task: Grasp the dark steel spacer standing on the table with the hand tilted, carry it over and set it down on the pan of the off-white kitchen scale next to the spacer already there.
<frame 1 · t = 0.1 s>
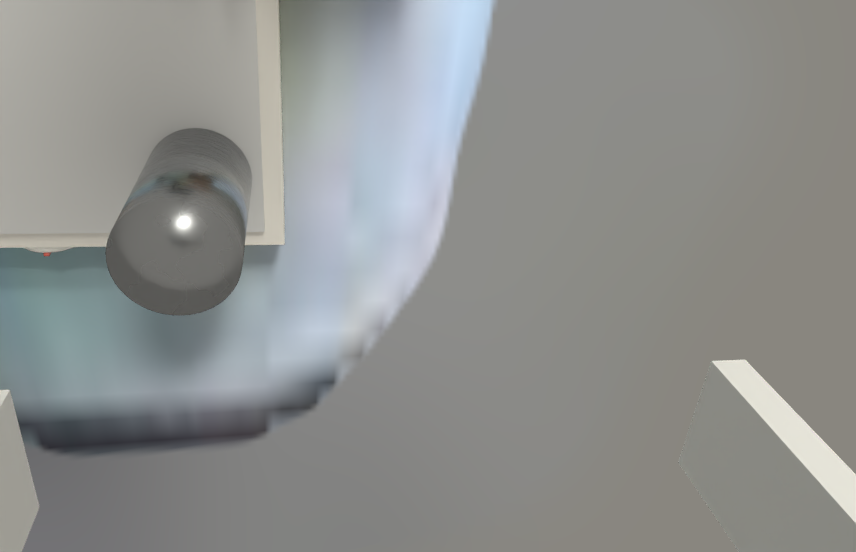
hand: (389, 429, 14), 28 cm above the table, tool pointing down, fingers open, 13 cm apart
scale: (120, 74, 36), on the table
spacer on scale: (200, 177, 35), point 4 cm above the table, touching scale
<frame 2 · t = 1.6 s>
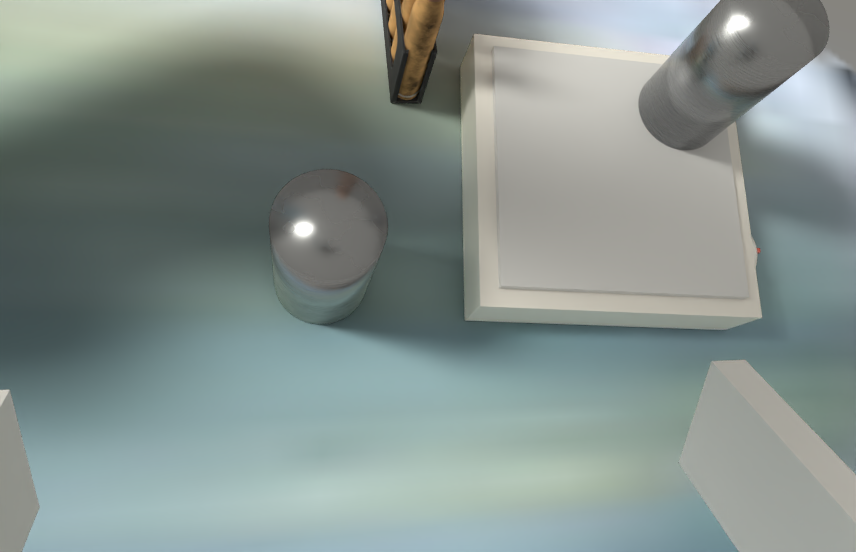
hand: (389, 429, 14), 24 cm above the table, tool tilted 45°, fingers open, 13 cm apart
scale: (590, 196, 43), on the table
spacer: (320, 279, 38), on the table
ammunition clip: (397, 28, 44), on the table
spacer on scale: (678, 110, 41), point 4 cm above the table, touching scale
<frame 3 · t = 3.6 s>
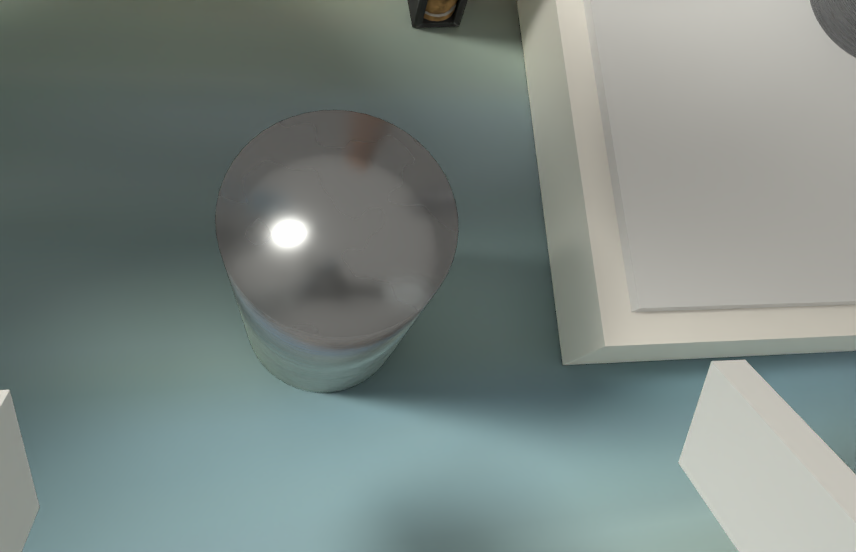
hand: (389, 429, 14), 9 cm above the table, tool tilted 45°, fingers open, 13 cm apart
scale: (729, 153, 28), on the table
spacer: (324, 315, 23), on the table
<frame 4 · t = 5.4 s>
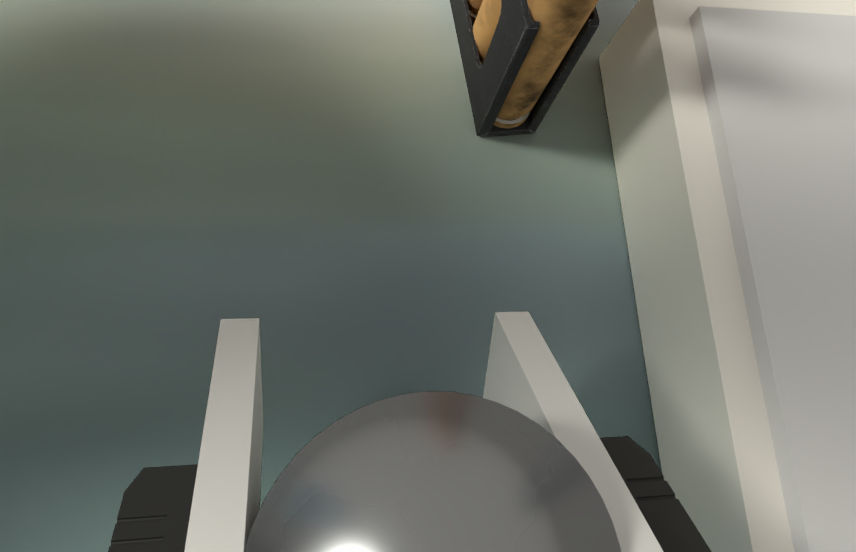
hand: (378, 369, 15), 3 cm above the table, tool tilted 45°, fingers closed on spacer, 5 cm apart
spacer: (370, 540, 17), on the table, touching gripper
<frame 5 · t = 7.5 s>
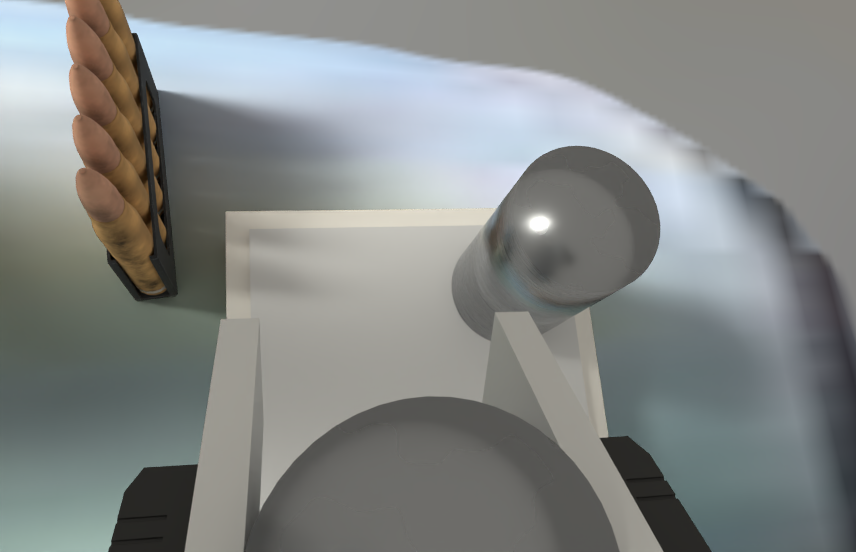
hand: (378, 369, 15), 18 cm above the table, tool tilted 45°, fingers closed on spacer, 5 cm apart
scale: (410, 396, 33), on the table
spacer: (370, 543, 17), point 14 cm above the table, touching gripper
ammunition clip: (147, 192, 34), on the table
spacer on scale: (506, 288, 31), point 4 cm above the table, touching scale
when the fingers open (9 cm above the table, at t = 9.5 s): spacer drops 1 cm, resting on scale.
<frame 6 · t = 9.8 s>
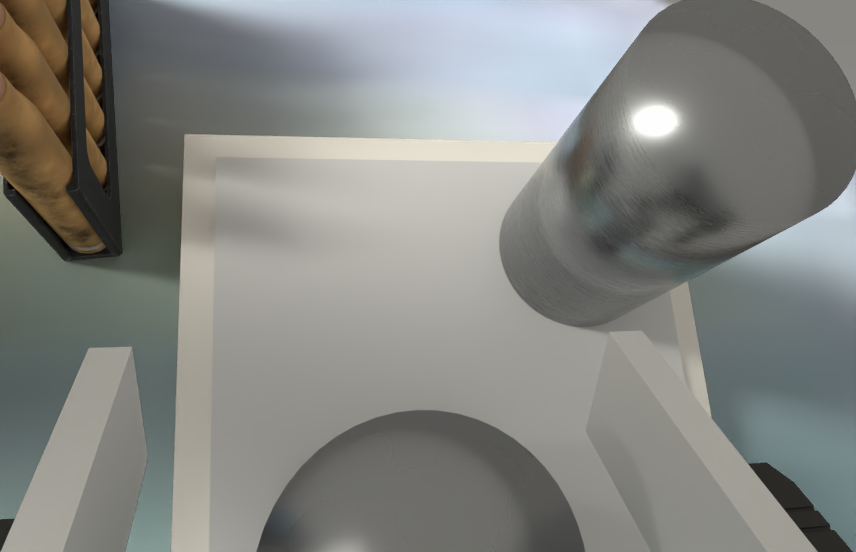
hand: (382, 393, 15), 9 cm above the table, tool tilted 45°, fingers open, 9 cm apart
scale: (436, 397, 24), on the table
spacer: (364, 539, 19), point 4 cm above the table, touching scale
ammunition clip: (88, 118, 25), on the table
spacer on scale: (575, 249, 22), point 4 cm above the table, touching scale
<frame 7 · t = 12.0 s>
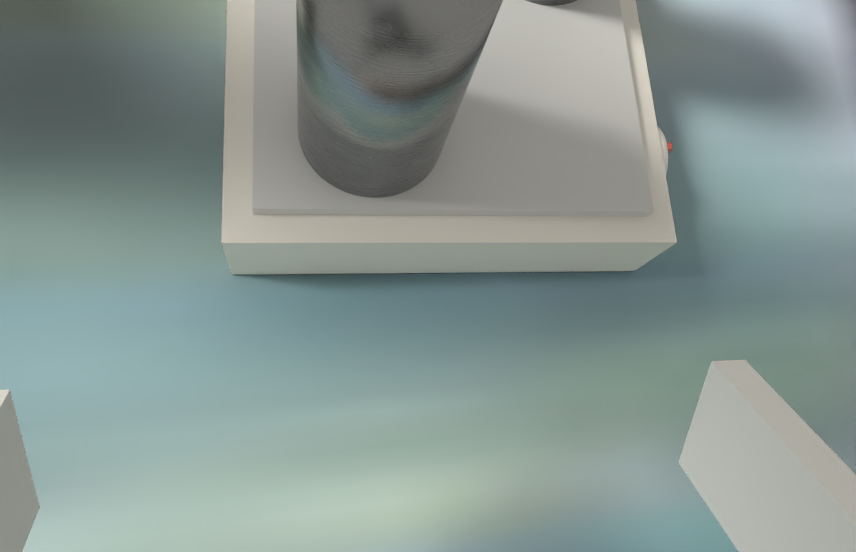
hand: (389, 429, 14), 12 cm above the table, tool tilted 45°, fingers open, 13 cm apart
scale: (430, 91, 30), on the table
spacer: (371, 130, 24), point 4 cm above the table, touching scale
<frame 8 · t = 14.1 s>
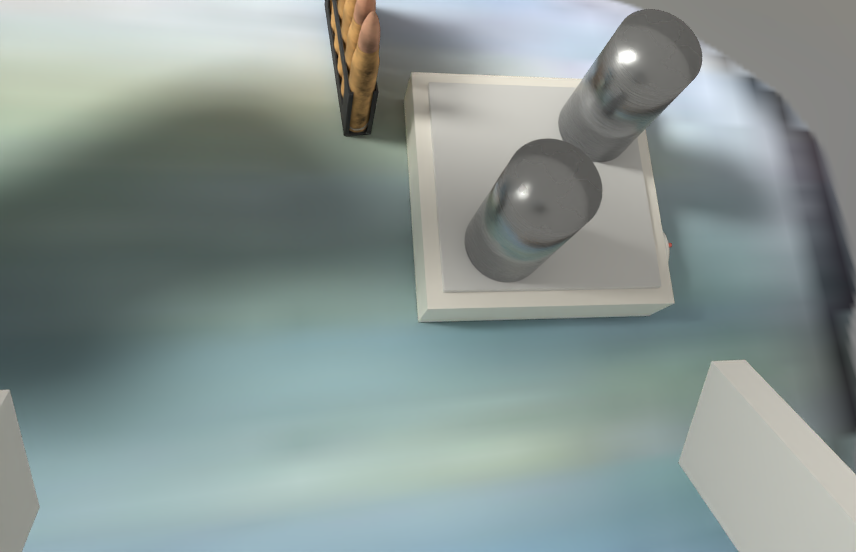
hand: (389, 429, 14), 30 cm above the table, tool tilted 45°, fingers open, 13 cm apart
scale: (524, 206, 49), on the table
spacer: (504, 243, 43), point 4 cm above the table, touching scale
ammunition clip: (346, 68, 50), on the table
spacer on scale: (594, 127, 47), point 4 cm above the table, touching scale
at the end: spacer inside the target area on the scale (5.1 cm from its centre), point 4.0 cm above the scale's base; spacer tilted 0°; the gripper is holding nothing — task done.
